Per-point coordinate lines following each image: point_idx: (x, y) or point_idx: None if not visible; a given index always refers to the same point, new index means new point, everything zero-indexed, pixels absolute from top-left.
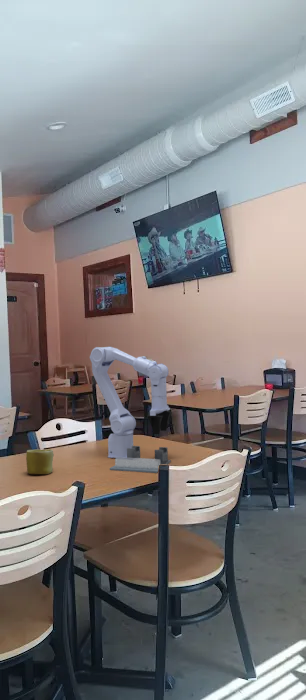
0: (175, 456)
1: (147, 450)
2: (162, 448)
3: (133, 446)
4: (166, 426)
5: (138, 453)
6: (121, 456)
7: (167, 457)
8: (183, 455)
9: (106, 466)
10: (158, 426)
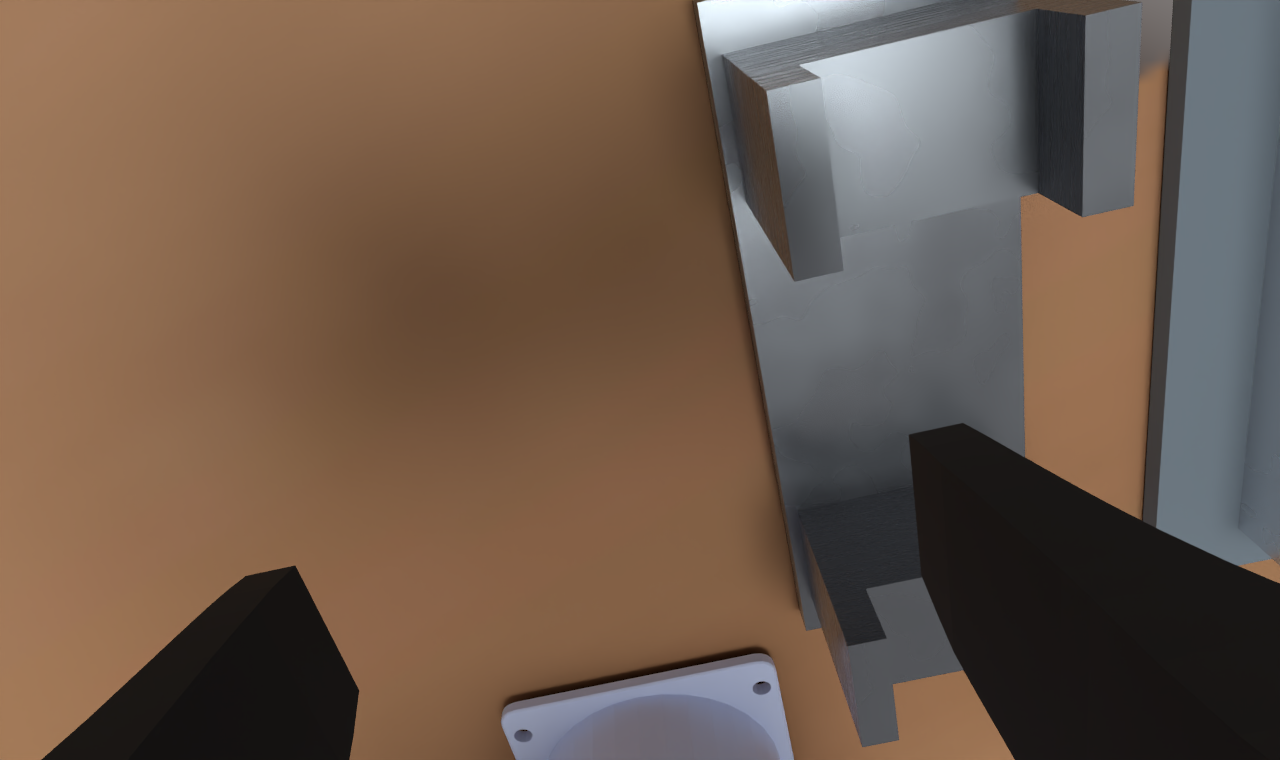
0: (251, 189)
1: None
2: (831, 185)
3: (894, 715)
4: (226, 651)
5: (891, 553)
6: (778, 754)
7: (749, 55)
8: (85, 98)
9: None
10: (1180, 576)
